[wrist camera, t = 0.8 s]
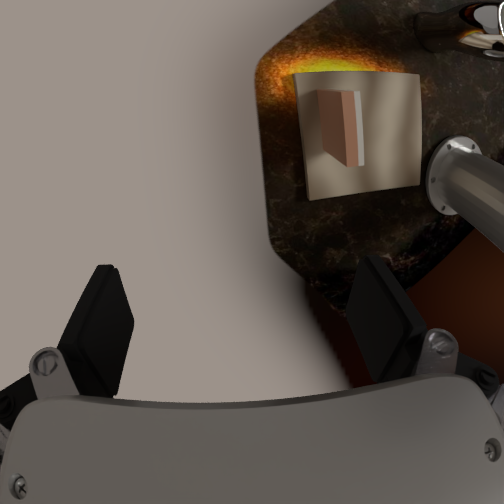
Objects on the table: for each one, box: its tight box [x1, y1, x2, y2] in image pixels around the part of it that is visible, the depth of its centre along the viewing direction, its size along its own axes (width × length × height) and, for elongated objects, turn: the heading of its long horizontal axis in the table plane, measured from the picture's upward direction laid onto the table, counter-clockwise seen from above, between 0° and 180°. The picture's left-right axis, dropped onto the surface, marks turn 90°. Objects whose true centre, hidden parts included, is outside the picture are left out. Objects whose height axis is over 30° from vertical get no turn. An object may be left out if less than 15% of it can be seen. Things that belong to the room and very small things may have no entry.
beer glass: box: [414, 1, 504, 62], centre depth 17 cm, size 7×7×15 cm
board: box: [292, 71, 422, 200], centre depth 30 cm, size 16×15×1 cm
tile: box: [317, 89, 364, 167], centre depth 26 cm, size 2×7×7 cm, turn 9°
